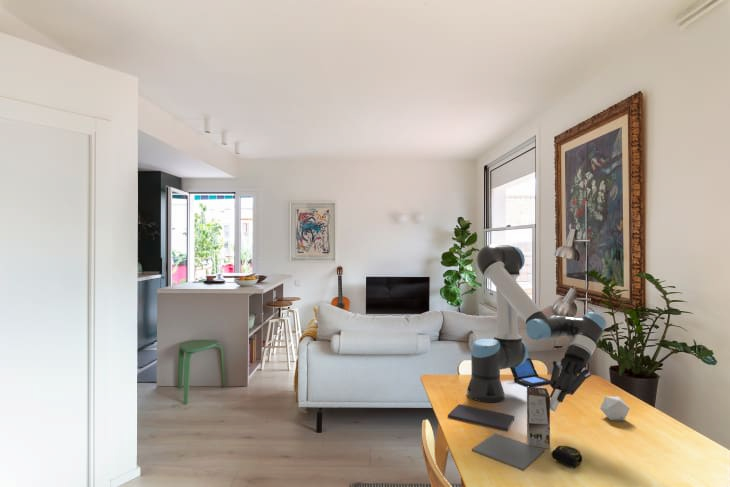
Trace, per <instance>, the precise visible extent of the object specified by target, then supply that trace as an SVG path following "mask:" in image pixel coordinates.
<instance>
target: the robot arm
mask: <svg viewBox="0 0 730 487" xmlns="http://www.w3.org/2000/svg"><path fill="white" fill-rule="evenodd" d="M525 261H526V260H525V255H524V252H523V251H522V250H521V249H520V248H519V247H517V246H515V245H511V244H487V245H485V246H483V247H482V248H481V249H480V250H479V251H478V253H477V256H476V264H477V267H478V269H479V271H480V273H481V274H482V275H483V277H484V278H485V279H487V280H490V281H491V282H492V284H493V285H494V286H495V288H496V289H495V293H496V298H495V299H496V325H497V326H496V327H497V330H496V331H497V332H496V333H495V334H494V336H493V338H494V339H493V338H480V339H477V340H474V341H473V342H472V344H471V351H470V354H471V356H470V358H471V364H470V366H471V375H470V376H471V377H470V380H469V383H468V386H467V391H466V392H467V393H466V394H468V395H467V396H468V397H469V398H470V397H471V398H470V399H472V398H473V399H472V400H474V399H476V400H475V401H477V400H480V401H479V402H482V401H485V402H484V403H499V401H500V402H503V401H504V399H505V391H504V387H503V385H502V382H501V370H506V369H510V368H514V367H517V366H520V365H522V364H523V363H524V362H525V361H526V359H527V358H529V355H528V354H529V349H528V347H527V345H526V343H525V342H524V341H523V339H522V338H523V337H522V335H520V334H519V331H518V330H519V329H518V325H519V324H518V316H519V317H520V318H521V319H522V321H523V322H524V323H525V331H526V334H527V336H528V337H529V338H530V339H532V340H535V341H546V340H549V339H550V340H551V339H557V338H558V339H559V338H563V337H564V338H566V337H568V338H571V341H570V342H569V346H567V348H566V351H565V353H564V356H563V357H562V359H561V360H560V361H556V360H554V361H552V365H553V368H552V371H551V375H550V379H549V380H550V384H549V386H550V387H551V388H552V391H551V393H550V394H549V396H550V411H553V412H556V411H557V409H558V407H559V405H560V403H563V401H564V400H565V397H566V396H567V395H570V396H573V395H574V394H575V392H577V390H578V389H579V388H580V387H581V385H582V384H583V383H584V382H585V381H586V380H587V379H589V378H590V377H591V376H592V374H591V373H590V372H591V371H589V370H588V369H587V366H588V364H589V362H590V360H591V358H592V355H593V353H594V351H595V349H596V348H597V345H598V343H599V341H600V339H601V337H602V335H603V334H604V332H605V329H606V326H607V321H606V319H605V318H604V317H603V316H602V315H601V314H599V313H598V312H597V313H596V312H594V311H589V312H586V313H585V314H584V315H583V316H582V317H572V316H565V315H551V316H550V317H548V316H547V315H546V314H545V313H544V312H543V311H542V310H541V309H540V308H539V306H538V305H537V304H536V303H535V301H534V300H533V299H532V298H531V297H530V296H529V295H528V294H527V292H526V291H525V290H524V289H523V287H521V285H520V284H519V283H518V282H517V278H518V277H519V276H520V275H521V274H520V271H521V270H522V269H523V267H524V265H525V264H526V263H525ZM560 371H561V372H560Z"/></svg>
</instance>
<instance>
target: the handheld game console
mask: <svg viewBox="0 0 730 487" xmlns="http://www.w3.org/2000/svg"><path fill="white" fill-rule="evenodd" d="M509 369H510V371H511V374H512V376H513V381H516V382H515V383H517V382H518V383H517V384H519V383H521V384H520V385H522V384H523V385H522V386H525V387H527V386H529V387H533V386H534V387H539V386H543V385H544V384H545V385H550V384H549V383H550V380H551V379H548V378H546V377H542V376H540V375H539V374H538V373H537V370H536V369H535V365H534V362H533V361H532V359H531V358H530V357H527V359H526V361H525V362H524V363H523V364H522V365H520V366H517V367H514V368H509ZM538 385H539V386H538Z"/></svg>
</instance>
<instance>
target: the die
mask: <svg viewBox="0 0 730 487" xmlns="http://www.w3.org/2000/svg"><path fill="white" fill-rule="evenodd" d="M599 408H600V410H601V411H602V412H603V414H604V415H605V416H606V417H607V418H608V419H609V421H625V419H626V418H627V415H628V413H629V411H630V409H631V408H630V407H629V406H628V405H627V403H625V401H623V399H622V398H621V397H620V396H604V398H603V401H602V403H601V405H600V407H599Z"/></svg>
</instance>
